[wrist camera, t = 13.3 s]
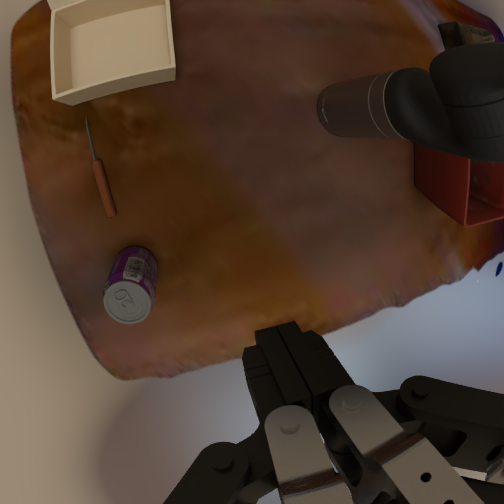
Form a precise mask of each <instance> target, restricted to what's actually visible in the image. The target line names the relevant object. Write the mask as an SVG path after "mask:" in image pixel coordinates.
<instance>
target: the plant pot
mask: <svg viewBox="0 0 504 504" xmlns="http://www.w3.org/2000/svg"><path fill="white" fill-rule="evenodd" d="M414 143H415V185H416V187H417V188H418V189H419V190H420V191H421V192H422V193H423V194H424V195H425V196H426V197H427V198H428V199H429V200H430V201H431V202H432V203H433V204H434V205H436V206H437V207H438V208H439V209H441V210H442V211H443V212H444V213H446V214H447V215H448V216H450V217H451V218H452V219H454V220H455V221H457V222H458V223H459V224H461V225H463V226H464V227H466V228H468V227H472V226H475V225H479V224H483V223H487V222H490V221H494V220H497V219H501V218H504V162H502V163H494V162H483V161H477V160H472V159H468V158H464V157H460V156H456V155H453V154H449V153H445V152H440V151H436V150H431V149H427V148H424V147H422V146H420V145H419V144H418V143H416V142H414Z"/></svg>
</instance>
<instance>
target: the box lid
mask: <svg viewBox="0 0 504 504" xmlns="http://www.w3.org/2000/svg"><path fill="white" fill-rule="evenodd" d="M47 1H48V4H49V6H50V8H51V10H53V9H56V8H58V7H61V6H63V5H66V4H69V3H72V2H74V1H77V0H47Z"/></svg>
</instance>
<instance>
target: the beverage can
mask: <svg viewBox="0 0 504 504" xmlns="http://www.w3.org/2000/svg"><path fill="white" fill-rule="evenodd" d="M157 271H158V267H157V262H156V260H155V258H154V256H153V255H152V254H151V253H150V252H149V251H148V250H146V249H144V248H141V247H128V248H126V249H124V250H122V251H121V252H120V253H119V254H118V255H117V257H116V259H115V261H114V264H113V266H112V268H111V271H110V273H109V276H108V278H107V280H106V283H105V285H104V289H103V298H104V306H105V309H106V311H107V312H108V314H109V315H110V316H111V317H112V318H113V319H115V320H116V321H118V322H120V323H124V324H136V323H139V322H141V321H143V320H144V319H145V318H146V317H147V316H148V314H149V312H150V311H151V310H152V308H153V306H154V302H155V293H156V281H157Z"/></svg>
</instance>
